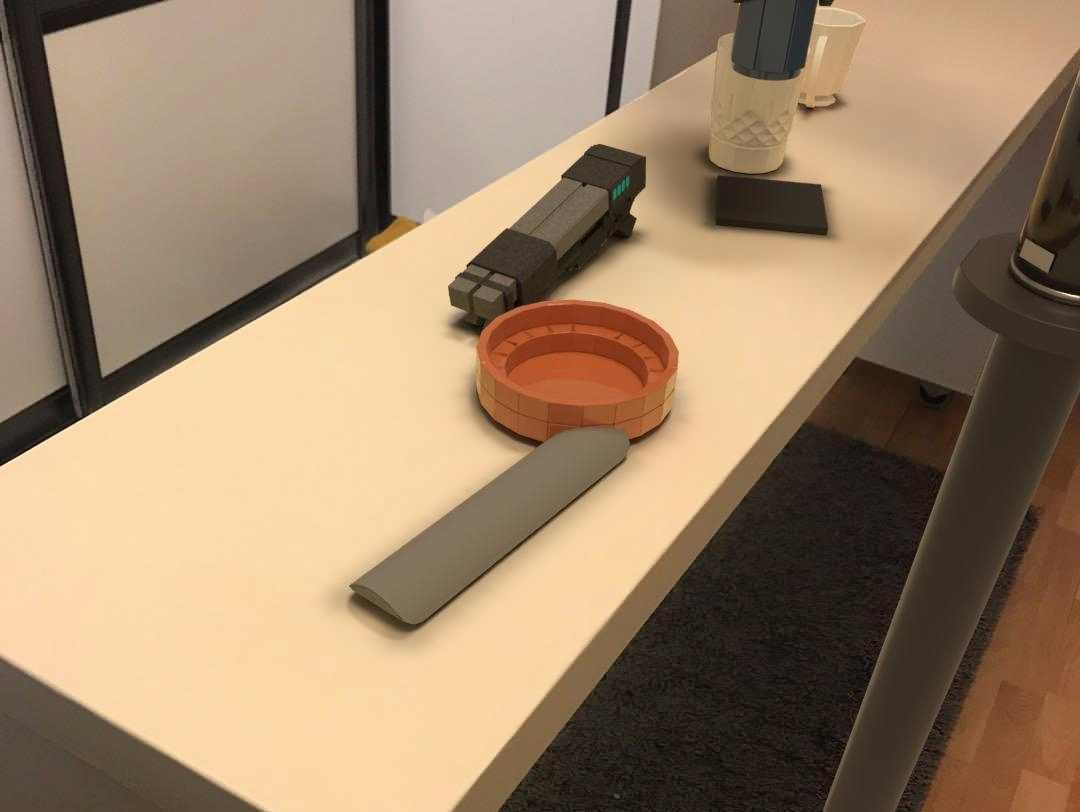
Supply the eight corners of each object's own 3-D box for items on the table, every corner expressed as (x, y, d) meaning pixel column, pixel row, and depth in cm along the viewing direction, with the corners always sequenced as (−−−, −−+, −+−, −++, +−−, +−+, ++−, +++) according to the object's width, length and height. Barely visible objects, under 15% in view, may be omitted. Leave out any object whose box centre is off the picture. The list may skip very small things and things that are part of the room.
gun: (654, 228, 85) (646, 120, 76) (521, 405, 77) (496, 306, 69) (605, 213, 86) (592, 106, 78) (470, 384, 79) (440, 286, 70)
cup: (850, 93, 113) (869, 11, 107) (840, 125, 106) (860, 38, 100) (784, 84, 114) (799, 2, 109) (770, 114, 107) (785, 28, 102)
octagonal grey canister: (800, 60, 78) (823, -62, 73) (804, 84, 75) (829, -43, 69) (729, 55, 79) (747, -67, 74) (729, 78, 75) (749, -49, 70)
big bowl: (675, 357, 71) (682, 310, 69) (666, 465, 62) (674, 415, 60) (495, 338, 72) (495, 291, 70) (460, 442, 63) (460, 392, 61)
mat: (819, 190, 93) (821, 184, 93) (826, 235, 86) (828, 228, 86) (716, 181, 94) (717, 174, 93) (715, 224, 87) (716, 217, 87)
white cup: (695, 169, 95) (711, 52, 89) (708, 139, 101) (724, 26, 95) (783, 182, 94) (806, 64, 88) (792, 150, 100) (814, 37, 93)
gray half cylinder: (342, 597, 52) (339, 570, 51) (576, 424, 64) (577, 399, 63) (405, 637, 51) (404, 610, 49) (634, 451, 62) (637, 426, 61)
